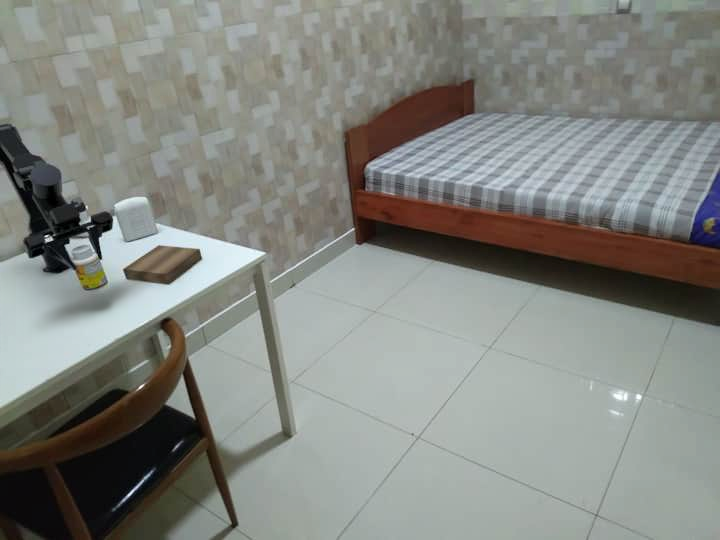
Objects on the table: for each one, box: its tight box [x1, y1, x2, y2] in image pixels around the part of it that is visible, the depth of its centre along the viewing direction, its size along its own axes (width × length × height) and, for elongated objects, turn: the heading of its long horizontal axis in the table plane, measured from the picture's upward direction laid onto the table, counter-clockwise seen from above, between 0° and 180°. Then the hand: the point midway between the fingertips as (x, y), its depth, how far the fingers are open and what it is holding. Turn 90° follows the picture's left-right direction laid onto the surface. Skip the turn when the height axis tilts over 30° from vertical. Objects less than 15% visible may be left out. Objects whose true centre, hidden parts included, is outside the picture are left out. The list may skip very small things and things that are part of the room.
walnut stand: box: [122, 245, 203, 285], centre depth 137 cm, size 14×14×3 cm
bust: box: [76, 205, 91, 238], centre depth 162 cm, size 12×8×11 cm
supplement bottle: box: [71, 244, 109, 293], centre depth 118 cm, size 6×6×10 cm
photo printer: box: [113, 196, 159, 242], centre depth 156 cm, size 10×4×12 cm, turn 123°
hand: (88, 264), depth 117 cm, fingers closed on supplement bottle, 6 cm apart
